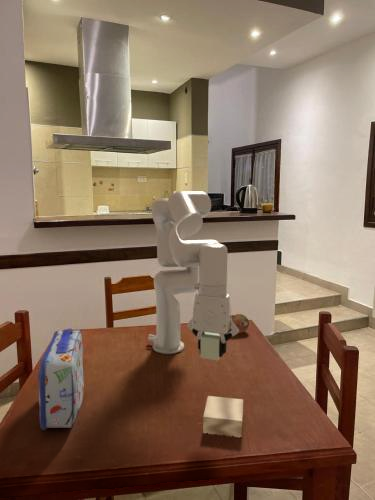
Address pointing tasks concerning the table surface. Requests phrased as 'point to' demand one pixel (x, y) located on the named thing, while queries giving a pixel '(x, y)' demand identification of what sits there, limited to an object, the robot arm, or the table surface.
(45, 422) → the lunch box
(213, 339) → the sage block
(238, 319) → the tin
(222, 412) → the maple block
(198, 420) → the table surface
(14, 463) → the table surface
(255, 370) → the table surface
